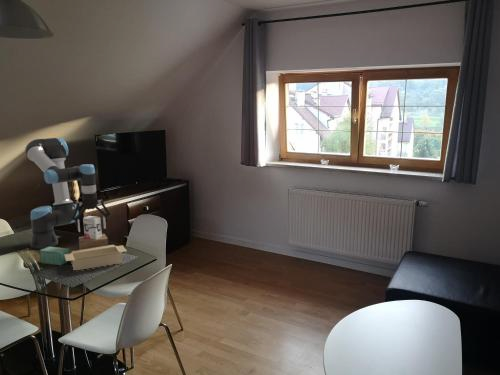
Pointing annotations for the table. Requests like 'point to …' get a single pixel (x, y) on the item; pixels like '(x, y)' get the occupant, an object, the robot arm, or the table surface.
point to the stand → (92, 242)
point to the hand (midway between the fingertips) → (92, 229)
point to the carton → (95, 257)
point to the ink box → (92, 227)
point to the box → (53, 255)
